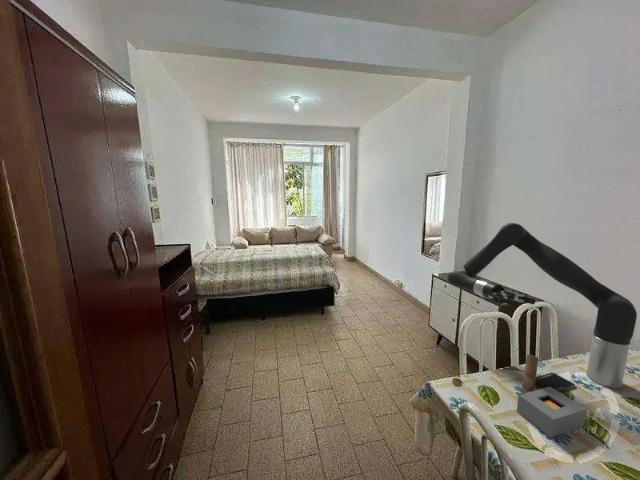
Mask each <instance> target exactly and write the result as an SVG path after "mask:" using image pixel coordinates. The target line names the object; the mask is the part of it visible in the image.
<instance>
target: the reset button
mask: <svg viewBox="0 0 640 480" xmlns="http://www.w3.org/2000/svg"><path fill="white" fill-rule="evenodd" d="M543 402H544V403H546V404H547V405H549V406H550V407H552V408H553V409H558V408H560V407H559V406H557V405H556V404H554V403H553V402H551V401H550V400H547V401H543Z"/></svg>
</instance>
